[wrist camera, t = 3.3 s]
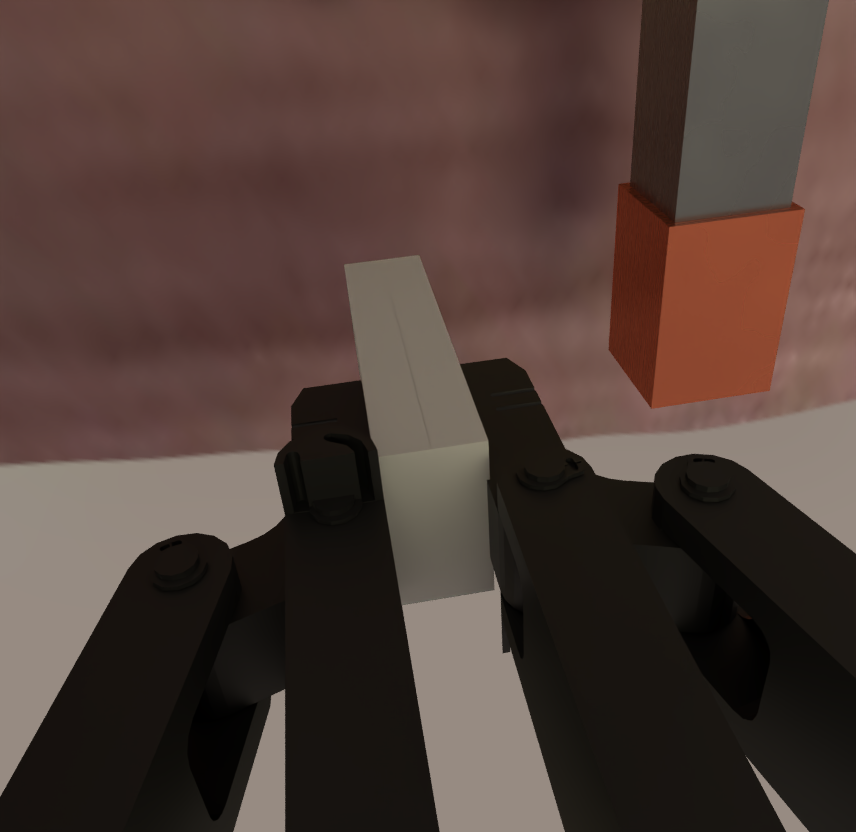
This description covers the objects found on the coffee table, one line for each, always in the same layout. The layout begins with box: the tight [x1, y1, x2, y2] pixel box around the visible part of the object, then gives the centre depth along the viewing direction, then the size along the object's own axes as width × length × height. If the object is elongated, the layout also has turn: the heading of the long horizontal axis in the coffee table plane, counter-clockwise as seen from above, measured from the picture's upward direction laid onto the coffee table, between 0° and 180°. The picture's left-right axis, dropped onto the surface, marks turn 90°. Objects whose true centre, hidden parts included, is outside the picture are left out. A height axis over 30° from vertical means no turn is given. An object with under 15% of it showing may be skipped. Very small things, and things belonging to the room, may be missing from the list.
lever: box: [609, 0, 829, 409], centre depth 16 cm, size 13×4×3 cm, turn 4°
